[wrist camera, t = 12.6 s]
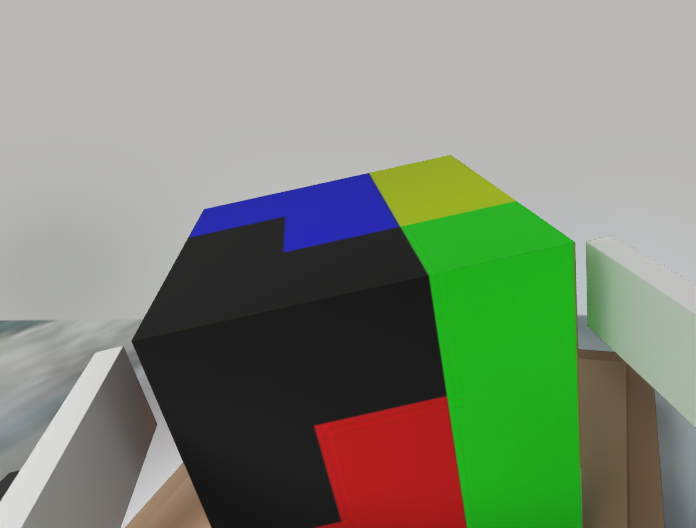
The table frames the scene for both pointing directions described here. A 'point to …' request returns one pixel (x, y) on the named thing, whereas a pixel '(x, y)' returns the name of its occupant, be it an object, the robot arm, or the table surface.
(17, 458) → the table surface
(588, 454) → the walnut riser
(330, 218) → the puzzle toy
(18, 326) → the table surface
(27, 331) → the table surface
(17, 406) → the table surface
